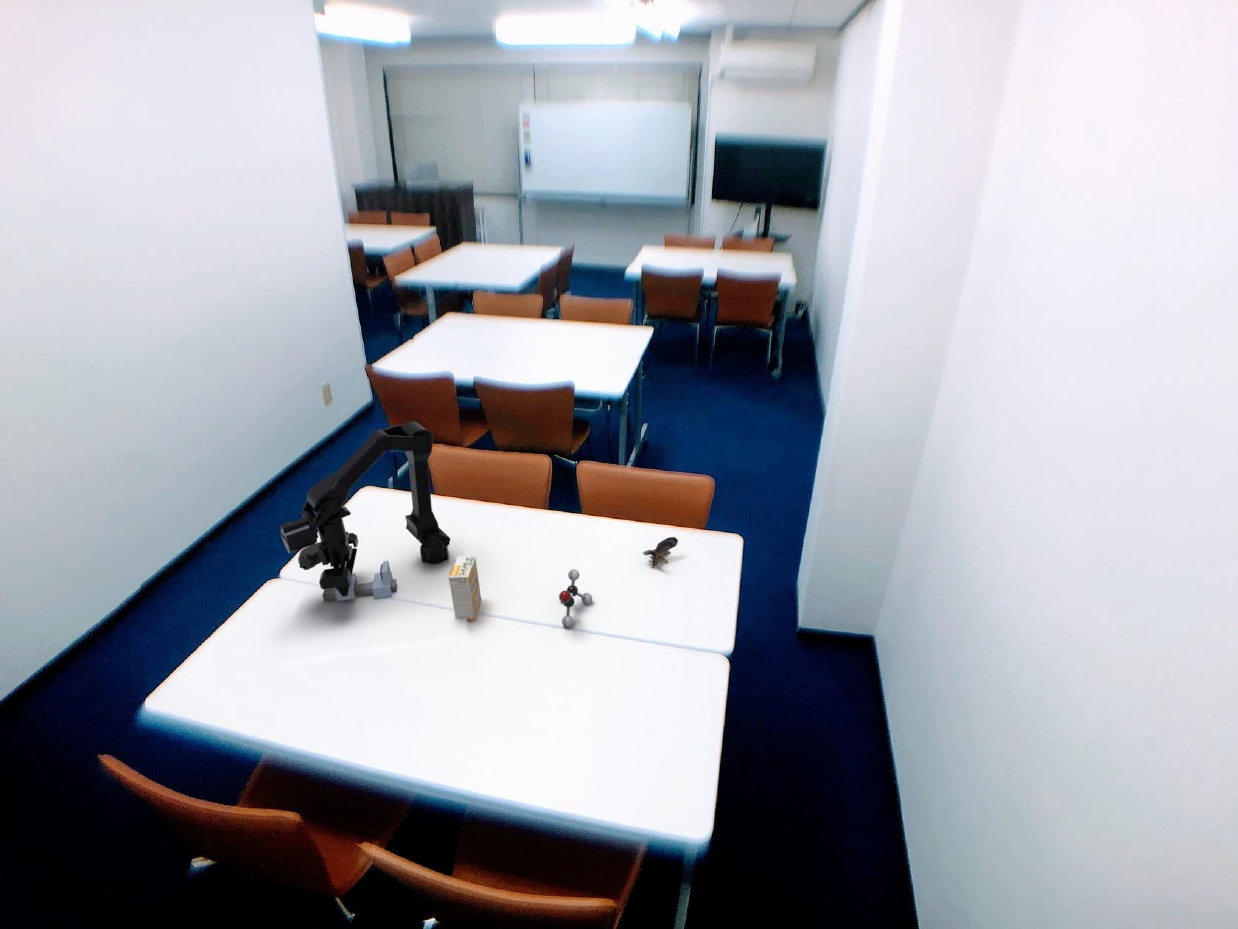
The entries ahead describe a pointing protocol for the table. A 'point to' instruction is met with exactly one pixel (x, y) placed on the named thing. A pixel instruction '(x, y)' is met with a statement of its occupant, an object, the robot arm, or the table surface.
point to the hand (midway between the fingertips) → (346, 587)
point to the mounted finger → (382, 582)
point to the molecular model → (569, 600)
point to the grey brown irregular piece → (661, 550)
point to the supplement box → (465, 588)
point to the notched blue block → (350, 591)
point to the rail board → (357, 590)
